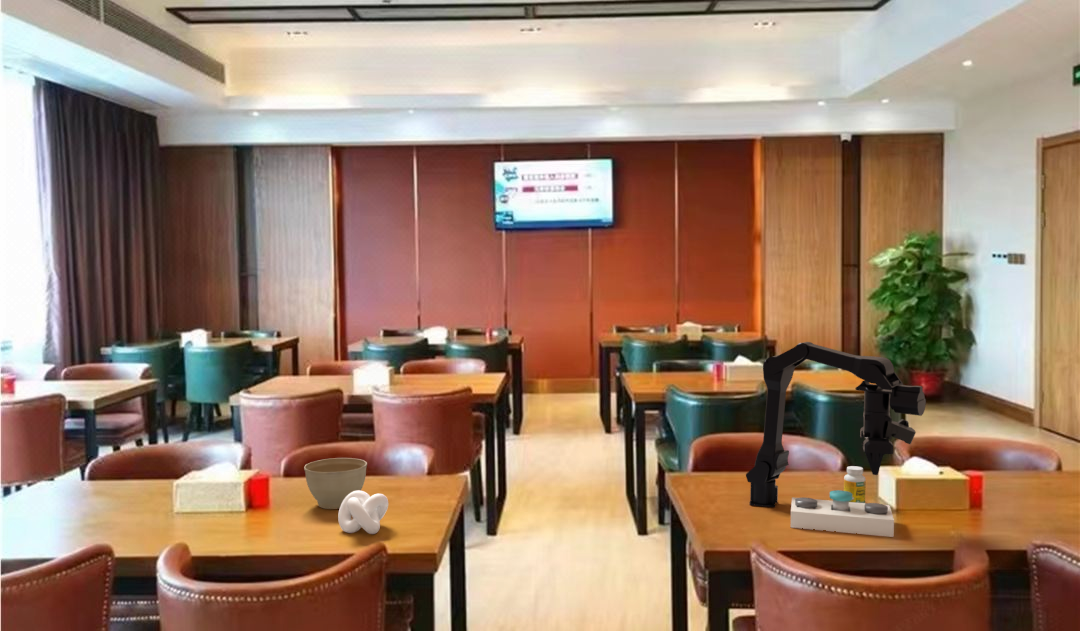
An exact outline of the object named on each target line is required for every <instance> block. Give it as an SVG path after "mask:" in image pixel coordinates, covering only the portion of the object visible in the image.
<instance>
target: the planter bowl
mask: <svg viewBox="0 0 1080 631" xmlns="http://www.w3.org/2000/svg"><path fill="white" fill-rule="evenodd" d="M367 466H368V462H367V461H365V460H364V459H360V458H354V457H353V458H352V457H335V458H332V457H331V458H325V459H320V460H315V461H311V462H309V463H306V464H305V465H304V467H303V469H304V473H305V482H306V484H307V488H308V491H309V492H310V493H311V495H312V496H313V498H314V500H316V501H317V502H316V503H317V505H318V507H319V508H321V509H326V510H327V509H328V510H338V509H340V506H341V504H342V502H343V500H344V499H345V497H346V496H347V495H348V494H350V493H351V492H353V491H358V490H360V491H362V489H363V487H364V483H365V482H366V481H365V480H366V474H367V468H368V467H367Z"/></svg>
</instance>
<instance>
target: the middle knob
mask: <svg viewBox="0 0 1080 631" xmlns="http://www.w3.org/2000/svg"><path fill="white" fill-rule="evenodd" d="M829 498H830V500H832V501H833V510H836V511H849V501H851V500H852V493H850V492H847V491H844V490H842V489H840V490H838V489H836V490H830V491H829Z"/></svg>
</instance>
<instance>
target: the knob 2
mask: <svg viewBox="0 0 1080 631" xmlns="http://www.w3.org/2000/svg"><path fill="white" fill-rule="evenodd" d="M866 503H867V502H866ZM886 505H887V504H883V503H880V502H879V503H877V502H868V503H867V504H865V506H864V510H865V511H866V512H868V513H871V514H883V515H884V514H887V513H888V507H887V506H886Z"/></svg>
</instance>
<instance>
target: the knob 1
mask: <svg viewBox="0 0 1080 631" xmlns="http://www.w3.org/2000/svg"><path fill="white" fill-rule="evenodd" d="M795 498H796V499H795V505H796V506H797V507H800V508H807V509H811V508H813V509H814V508H816V507H817V500H815V499H816V498H811V497H795Z"/></svg>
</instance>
